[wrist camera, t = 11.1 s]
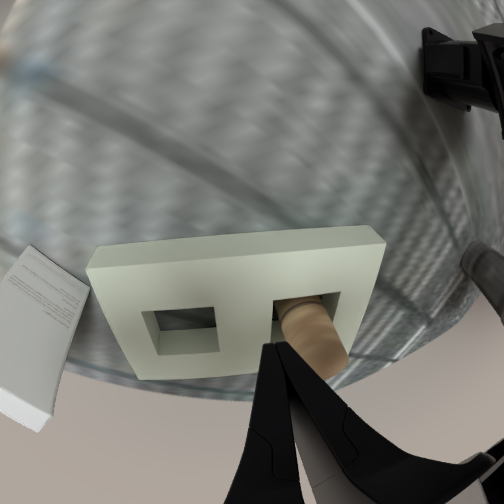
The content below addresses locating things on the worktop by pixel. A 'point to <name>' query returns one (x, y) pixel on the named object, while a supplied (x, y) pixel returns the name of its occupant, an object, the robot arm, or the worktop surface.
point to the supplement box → (36, 335)
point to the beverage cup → (486, 273)
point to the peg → (312, 334)
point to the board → (229, 293)
